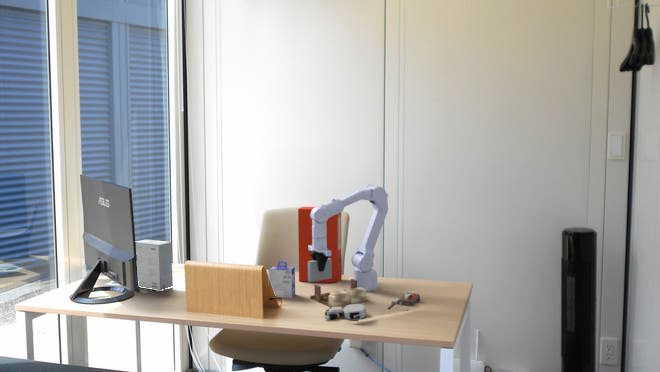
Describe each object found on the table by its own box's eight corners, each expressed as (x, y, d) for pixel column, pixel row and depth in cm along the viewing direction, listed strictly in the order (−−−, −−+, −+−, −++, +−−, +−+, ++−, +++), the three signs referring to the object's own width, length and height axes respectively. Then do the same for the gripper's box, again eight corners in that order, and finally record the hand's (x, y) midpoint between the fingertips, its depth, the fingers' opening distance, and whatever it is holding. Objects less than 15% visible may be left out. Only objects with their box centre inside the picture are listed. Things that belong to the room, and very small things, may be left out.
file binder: (304, 277, 319) (303, 206, 315) (341, 279, 314) (341, 207, 311) (298, 281, 311) (297, 208, 307) (337, 283, 307) (336, 210, 303)
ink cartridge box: (296, 296, 287) (295, 261, 285) (292, 300, 281) (292, 264, 280) (272, 295, 289) (271, 260, 287) (268, 299, 283) (267, 263, 282)
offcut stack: (360, 298, 279) (360, 287, 279) (366, 300, 276) (365, 289, 276) (328, 304, 272) (328, 292, 271) (334, 306, 268) (334, 295, 268)
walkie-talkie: (400, 299, 284) (385, 312, 265) (400, 288, 283) (385, 301, 265) (421, 301, 280) (408, 315, 262) (421, 290, 280) (408, 303, 261)
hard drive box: (173, 288, 301) (172, 242, 299) (160, 292, 295) (158, 245, 292) (147, 283, 309) (145, 238, 307) (134, 287, 303) (132, 241, 301)
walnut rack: (348, 294, 290) (348, 277, 289) (371, 303, 276) (371, 285, 275) (310, 300, 280) (309, 283, 279) (331, 310, 267) (331, 292, 266)
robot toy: (324, 326, 251) (367, 323, 251) (323, 314, 251) (366, 311, 250) (326, 316, 263) (366, 313, 263) (325, 304, 263) (365, 301, 262)
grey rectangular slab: (329, 277, 290) (328, 258, 289) (331, 278, 288) (331, 259, 287) (307, 280, 285) (307, 261, 284) (310, 281, 283) (310, 262, 282)
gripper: (301, 235, 289) (302, 268, 290) (320, 241, 276) (320, 275, 278) (316, 233, 292) (317, 266, 294) (335, 239, 280) (335, 273, 282)
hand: (319, 270), depth 286 cm, fingers closed on grey rectangular slab, 2 cm apart
